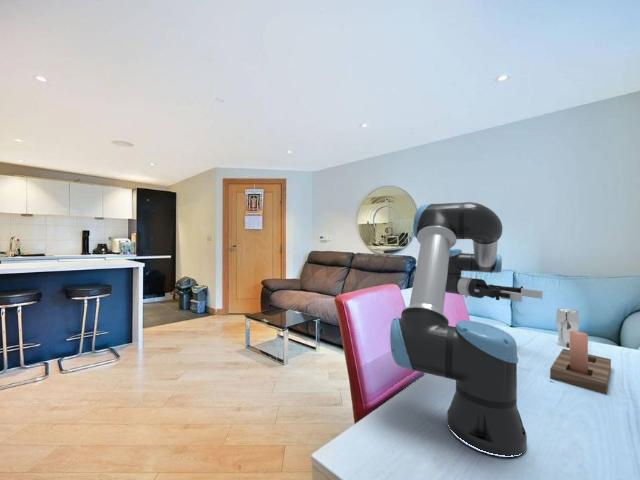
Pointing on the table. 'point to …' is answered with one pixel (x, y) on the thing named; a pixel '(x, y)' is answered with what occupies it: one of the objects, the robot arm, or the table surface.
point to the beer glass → (566, 325)
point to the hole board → (592, 381)
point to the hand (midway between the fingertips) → (532, 296)
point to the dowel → (579, 352)
